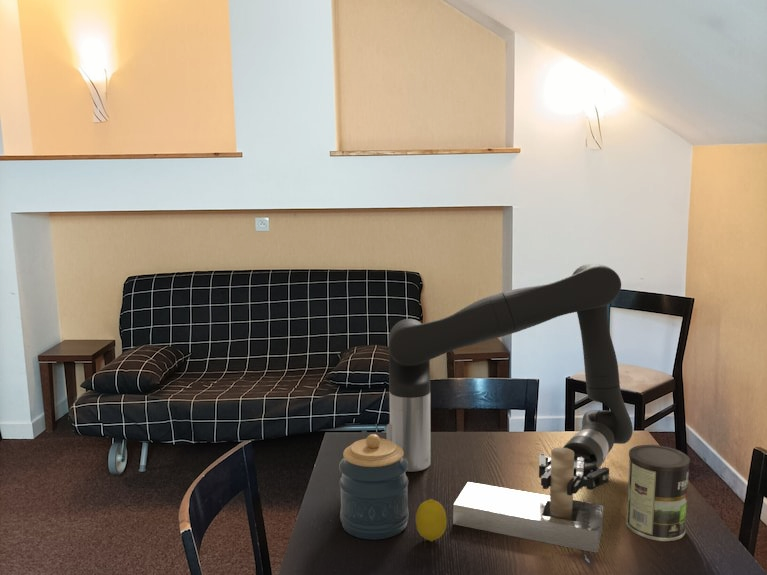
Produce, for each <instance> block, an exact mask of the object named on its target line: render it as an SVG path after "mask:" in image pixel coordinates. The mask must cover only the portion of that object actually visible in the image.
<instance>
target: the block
mask: <svg viewBox="0 0 767 575" xmlns="http://www.w3.org/2000/svg"><path fill="white" fill-rule="evenodd" d="M604 507H605V506H604V504H600V503H593V502H587V501H581V500H574V499H573V504H572V521H569V520H564V519H558V518H553V517H549V514H550V495H547V494H540V493H534V492H529V491H525V490H524V491H522V490H517V489H511V488H507V487H501V486H500V487H499V486H495V485H489V484H483V483H476V482H472V481H471V482H470V481H467V483H466V484H465V486H464V487H463V489H462V490H461V491H460V494H459V495H458V496H457V498H456V499H455V501H454V503H453V507H452V508H453V513H452V518H453V519H452V524H453V525H454V526H455V525H456V526H460V527H464V528H465V527H466V528H470V529H475V530H481V531H485V532H490V533H495V534H501V535H505V536H510V537H515V538H521V539H526V540H530V541H536V542H540V543H545V544H550V545H555V546H560V547H563V548H564V547H566V548H570V549H575V550H581V551H584V552H585V551H586V552H590V553H595V554H598V552H599V548H600V543H601V536H602V531H603V527H604V524H603V523H604Z"/></svg>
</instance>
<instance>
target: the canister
mask: <svg viewBox="0 0 767 575" xmlns="http://www.w3.org/2000/svg"><path fill="white" fill-rule="evenodd" d="M403 455H404V452H403V449H402V448H401V447H400V446H398V445H396V444H394V443H393V442H392V441H390V440H387V438H383V437H382V438H381V437H380V436H379V435H378V434H376V433H371V434H368V436H366V438H362V439H359V440H356V441H354V442H353V443H352V444H350V445H349V446H347V447H346V448H344V451H343V453H342V456H343V458H342V459H341V461H340V462H339V465H338V469H339V471H340V473H341V477H340V479H339V487H340V511H339V513H340V515H339V518H340V522H341V525H342V528H343V530H344V531H345V532H346V533H348V534H349V535H351V536H353V537H355V538H359V539H363V540H374V541H375V540H383V539H388V538H392V537H395V536H396V535H399V534H400V533H402V532H403V531H404V530H405V529H406V527H407V526H408V520H409V518H410V517H409V516H410V515H409V512H410V510H409V507H408V502H409V501H408V499H409V498H408V491H409V490H408V486H409V479H408V476H407V475H406V472H407V471H406V470H407V469H408V462H407V460H406V459H405V458H404V457H403Z"/></svg>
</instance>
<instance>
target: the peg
mask: <svg viewBox="0 0 767 575" xmlns="http://www.w3.org/2000/svg"><path fill="white" fill-rule="evenodd" d="M550 452H551V454H550V455H551V456H550V458H551V465H550V466H551V480H550V487H549V496H550V514H549V517H553V518H558V519H564V520H569V521H572V504H573V500H574V495H573V494H572V496H571V495H567V485H568V483H569V481H570V480H571V479H572V478H573V476H574V451H572V450H571V449H568V448H563V447H553V448H551V451H550Z"/></svg>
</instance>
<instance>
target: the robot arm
mask: <svg viewBox="0 0 767 575" xmlns="http://www.w3.org/2000/svg"><path fill="white" fill-rule="evenodd" d="M621 289H622V281H621V278H620V276H619V274H618V273H617V271H615V270H614V269H612V268H611V267H609V266H607V265H604V264H600V263H599V264H598V263H587V264H582V265H581V266H579V267H578V268H576V269H575V270H574V271H573V273H572V275H570V276H568V277H565V278H562V279H559V280H557V281H554V282H549V283H546V284H541V285H539V284H538V285H533V286H532V285H531V286H525V287H520V288H515V289H509V290H507V291H503V292H499V293H496V294H492V295H489V296H486V297H483V298H481V299H478V300H476V301H474V302H472V303H470V304H469V305H467V306H465V307H464V308H461V309H459V310H458V311H455V313H453V314H451V315H449V316H447V317H444V318H443V317H442V318H440V319H438V320H433V321H428V322H425V323H422V322H421V321H419V320H416V319H413V318H405V319H401V320H399V321H398V322H396V323H395V325H393V326H392V328H391V329H390V331H389V335H388V379H389V380H388V388H389V390H388V392H389V394H388V395H389V423H388V424H386V439H387V440H390V441H392V442H393V443H394V444H396V445H398V446H400V447H401V448H402V449H403V452H404V455H403V457H404V458H405V459H406V460H407V462H408V469H407V470H406V472H409V473H410V472H411V473H412V472H420V471H423V470H426V469H428V468H429V467H431V456H432V454H431V368H430V366H431V364H430V361H431V360H433V359H435V358H437V357H440V356H442V355H444V354H447V353H450V352H452V351H455V350H457V349H458V350H459V349H461V348H464V347H465V348H466V347H468V346H469V347H471V346H473V345H476V344H480V343H484V342H487V341H491V340H494V339H499V338H502V337H505V336H509V335H511V334H515V333H518V332H521V331H524V330H527V329H529V328H532V327H535V326H538V325H541V324H543V323H545V322H547V321H551V320H553V319H555V318H557V317H561V316H564V315H568V314H569V315H570V314H573V313H576V314H577V318H578V324H579V329H580V335H581V343H582V344H581V345H582V353H583V361H584V362H583V363H584V376H585V386H586V393H587V397H588V398H589V399H590V400H591V401H594V402H597V403H601V404H604V405H605V406H607V408H608V409H609V410H607V409H606V410H602V409H594V410H593V409H591V410H588V411H586V412H585V413H584V414H583V417H582V420H581V429H580V430H579V431H578V432H577V433H575V434H573V436H572V437H571V438H570V439H569V440H568V441H567V443H565V444H564V446H563V447H562V448H568V449H571V450H572V451H574V476H573V478H572V479H571V480H570V481H569V483H568V485H567V495H571V496H572V494H574V495H575V494H577V493H578V492H579V490H581V489H583V488H585V487H586V489H587V490H588V491H593V490H596V489H597V488H599V487H601V486H603V485H605V484H607V483H608V482H610V468H609V467H606V466H605V467H601V466H602V465H603V464H604V463H605V462H606V459H607V456H608V455H609V454H610V452H611V450H612V449H613V447H614V445H615V444H616V445H617V444H618V445H621V444H622V445H623V444H627V443H628V442H629V441H630V440H631V438H632V436H633V433H634V432H633V431H634V428H633V422H632V419H631V416H630V414H629V412H628V409H627V407H626V404H625V402H624V399H623V396H622V392H621V391H622V390H621V386H620V384H621V382H620V374H619V366H618V359H617V355H616V351H615V347H614V344H613V339H612V337H611V332H610V328H609V327H610V326H609V321H608V306H609V305H610V304H611V303H613V302H614V301H615V300H616V299H617V298H618V297H619V294H620V293H621ZM538 455H539V457H538V458H539V459H538V478H540V486H542V489H544V490H548V489H550V480H551V457H549V456H547V455H546V453H543V452H541V453H539V454H538Z"/></svg>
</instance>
